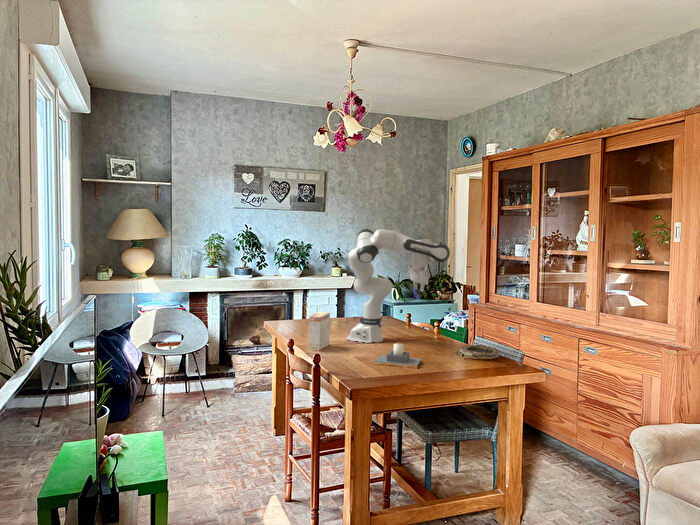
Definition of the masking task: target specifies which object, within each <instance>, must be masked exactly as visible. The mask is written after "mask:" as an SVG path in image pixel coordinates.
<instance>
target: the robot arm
mask: <svg viewBox="0 0 700 525" xmlns="http://www.w3.org/2000/svg"><path fill="white" fill-rule="evenodd" d="M355 244H356V245H355V248H353V249H351V250H350V251H349V252H348V255H347V258H348V262H349V264H350V267H351V268H352V270H353V272H354V274H355V277H356V278H355V279H354V281H353V289H354V290H355V292H357V293H360V294H362V295H369V296H370V298H369V300H367V301H366V302H365V303H364V304H363V307H362V311H363V312H362V316H360V318H359V323H358V324H356V325H355V326H353V328H351V330H350V333H349V335H348V336H346V337H345V340H346V339H347V340H346V341H348V340H350V341H349V342H355V341H358V342H357V343H362V342H365V343H364V344H373V343H372V342H375V343H380V342H383V341H384V339H383V334H382V324H383V320H382V308H383V303H384V301H385V299H386V298H387V297H388V296H389V295H391V293H392V291H393V282H392V281H391V280H389V279H387V278H384V277H376V276H374V273H375V272H374V270H375V269H374V266H373V264H372V262H373V261H374V260H375V259H376V257H377V255H378V254H379V253H380V252H379V250H380V249H383V250H387V251H392V252H397V253H411V255H412V258H411V262H410V264H409V266H408V268H409V278H410V281H412V283H413V289H414V290H418V286H419V285H418V284H420V286H419V287H420V288H419V292H421V293H423V292H425V291H424V290H425V287H426V286H425V285H428V284H429V272H428V260H431V261H434V262H437V263H445V262H446V261H447V260H448V259H449V257H450V255H451V251H450V248H449V247H448V246H447V245H446V244H443V243H436V242H433V241H431V240H429V239H428V238H427V237H418V238H415V239H414V238H412V237H409V236H407V235H405V234H403V233H401V232H398V231H394V230H391V229H384V228H383V229H382V228H379V229H376V230H375V232H374V231H373V230H372V229H369V228H363V229H361V230H360V231H358V234H357V235H356V241H355Z"/></svg>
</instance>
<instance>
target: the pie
mask: <svg viewBox="0 0 700 525" xmlns="http://www.w3.org/2000/svg"><path fill="white" fill-rule="evenodd" d="M459 351H460V353H458V354H461V353H463V355H464V356H463V357H465V356H466V357H476V358H495V357H498V358H499V356H501V350H500V349H497V348H495V347H491V346H487V345H482V344H474V345H472V344H471V345H463V346H462V347H461V348H460V350H459Z"/></svg>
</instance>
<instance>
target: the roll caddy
mask: <svg viewBox="0 0 700 525" xmlns="http://www.w3.org/2000/svg"><path fill="white" fill-rule="evenodd" d="M410 353H411V352H410V351H404V353H403V356H402V355H393V350H389V352H388V353H387V354H386V355H385V354H380V355H379V356H377V358H376V359H375V360H374V361H373V363H374V362H380V363H391V364H401V365H412V366H417V365H418V364H419V363H420V361H421V360H422V358H416V357H410V355H411V354H410ZM420 364H421V363H420Z"/></svg>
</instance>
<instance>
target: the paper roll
mask: <svg viewBox="0 0 700 525" xmlns="http://www.w3.org/2000/svg"><path fill="white" fill-rule="evenodd" d="M404 346H405V345H404V343H403V344H402V343H393V355H402V356H403V353H404V352H405V350H404V348H405V347H404Z"/></svg>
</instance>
